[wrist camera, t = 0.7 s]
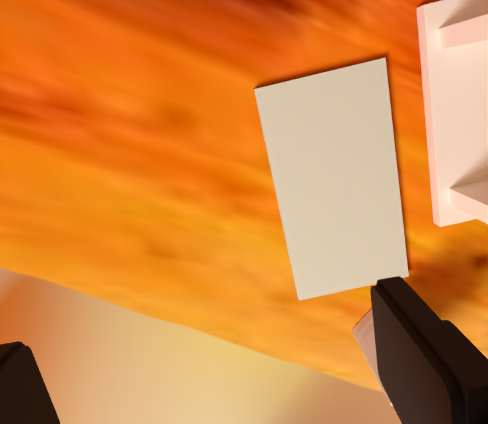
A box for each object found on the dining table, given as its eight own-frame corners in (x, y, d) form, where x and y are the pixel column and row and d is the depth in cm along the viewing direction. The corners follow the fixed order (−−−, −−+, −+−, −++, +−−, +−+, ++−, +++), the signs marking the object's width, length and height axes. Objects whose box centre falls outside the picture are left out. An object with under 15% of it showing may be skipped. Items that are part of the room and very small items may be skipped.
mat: (253, 89, 41) (254, 89, 40) (382, 58, 40) (385, 57, 40) (297, 297, 49) (298, 300, 48) (405, 273, 48) (408, 276, 48)
